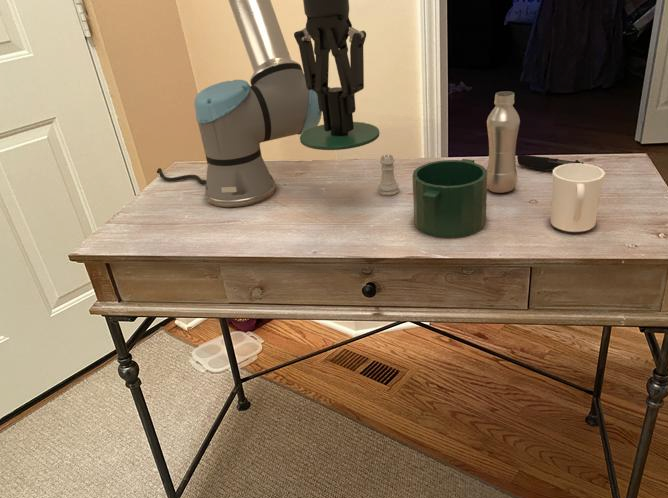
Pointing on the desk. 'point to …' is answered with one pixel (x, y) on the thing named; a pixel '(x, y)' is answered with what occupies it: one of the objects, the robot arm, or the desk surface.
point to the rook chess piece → (388, 177)
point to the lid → (338, 129)
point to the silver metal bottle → (502, 144)
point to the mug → (575, 197)
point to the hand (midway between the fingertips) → (339, 129)
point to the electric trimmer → (542, 162)
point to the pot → (450, 198)
